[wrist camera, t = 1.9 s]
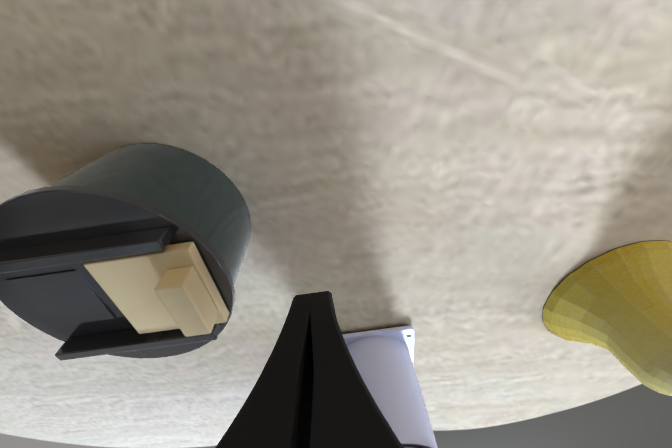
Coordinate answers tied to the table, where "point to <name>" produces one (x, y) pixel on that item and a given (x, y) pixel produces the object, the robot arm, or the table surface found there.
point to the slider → (162, 290)
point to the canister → (117, 245)
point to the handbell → (621, 309)
